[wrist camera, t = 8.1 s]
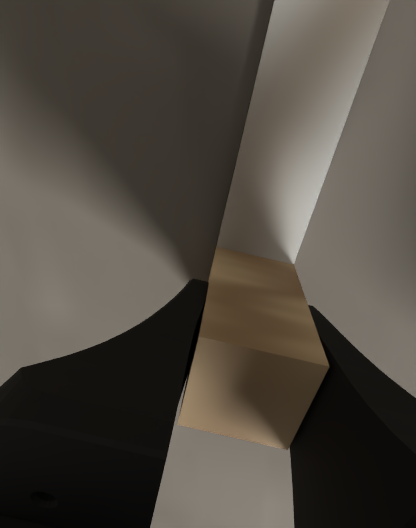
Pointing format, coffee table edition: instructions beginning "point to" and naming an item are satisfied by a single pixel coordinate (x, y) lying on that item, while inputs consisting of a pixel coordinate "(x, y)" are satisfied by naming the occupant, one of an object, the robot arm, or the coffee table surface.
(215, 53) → the coffee table surface
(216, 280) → the turner
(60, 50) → the coffee table surface
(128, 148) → the coffee table surface
